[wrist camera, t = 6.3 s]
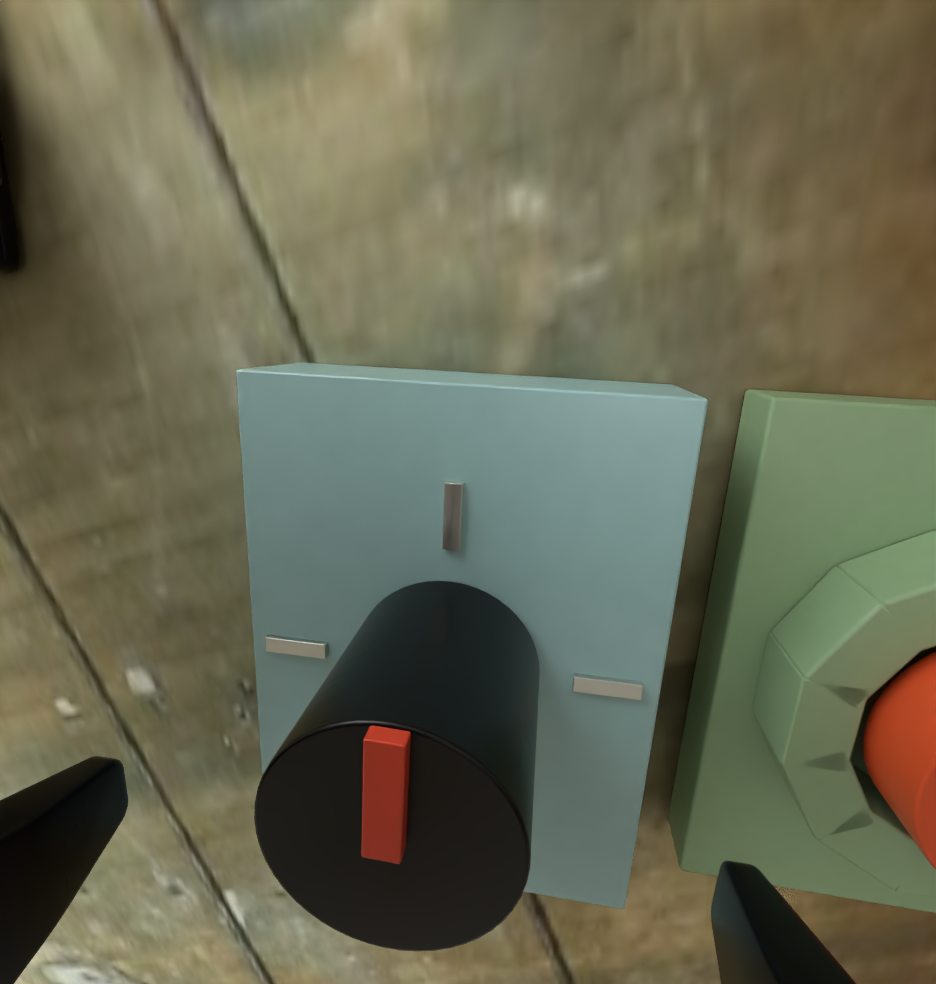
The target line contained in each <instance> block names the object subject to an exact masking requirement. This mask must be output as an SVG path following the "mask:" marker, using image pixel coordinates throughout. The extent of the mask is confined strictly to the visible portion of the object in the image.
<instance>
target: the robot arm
mask: <svg viewBox="0 0 936 984" xmlns="http://www.w3.org/2000/svg"><path fill="white" fill-rule="evenodd" d="M19 263H20V254H19V247H18V241H17V235H16V229H15V222H14V216H13V210H12V203H11V197H10V191H9V185H8V178H7V172H6V166H5V160H4V153H3V147H2V141H1V135H0V275H9V274H12V273H14V272H15V271H16V270H17V268H18V266H19ZM127 807H128V795H127V788H126V781H125V774H124V767H123V764H122V763H121V762H120V760H117V759H113V758H107V757H101V756H95V757H91V758H89V759H86V760H84V761H82V762H80V763H78V764H76V765H74V766H72V767H70V768H67V769H65V770H63V771H61V772H59V773H57V774H55V775H53V776H51V777H49V778H46V779H44V780H42V781H40V782H38V783H36V784H34V785H32V786H30V787H28V788H25V789H23V790H21V791H19V792H17V793H15V794H13V795H11V796H9V797H7V798H4V799H2V800H0V984H14V983H15V981H16V980H17V979H18V977H19V976H20V974H21V973H22V972H23V970H24V969H25V968H26V966H27V965H28V964H29V962H30V961H31V959H32V958H33V957H34V955H35V954H36V953H37V951H38V950H39V949H40V947H41V946H42V944H43V943H44V942H45V940H46V939H47V937H48V936H49V935H50V933H51V932H52V930H53V929H54V928H55V926H56V925H57V923H58V922H59V920H60V919H61V917H62V916H63V914H64V913H65V911H66V909H67V908H68V906H69V905H70V903H71V902H72V900H73V898H74V897H75V895H76V894H77V892H78V890H79V889H80V887H81V886H82V884H83V882H84V881H85V879H86V878H87V876H88V874H89V873H90V871H91V870H92V868H93V866H94V865H95V863H96V862H97V860H98V858H99V857H100V855H101V854H102V852H103V850H104V849H105V847H106V846H107V844H108V842H109V841H110V839H111V838H112V836H113V834H114V833H115V831H116V829H117V828H118V826H119V825H120V823H121V821H122V820H123V818H124V816H125V813H126V810H127ZM711 920H712V929H713V935H714V941H715V947H716V954H717V960H718V966H719V972H720V978H721V984H856V983H855V981H854V980H853V979H852V978H851V977H850V976H849V974H848V973H847V972H846V971H845V970H844V968H843V967H842V966H841V965H840V964H839V963H838V961H837V960H836V959H835V958H834V957H833V956H832V954H831V953H830V952H829V951H828V950H827V949H826V947H825V946H824V945H823V944H822V943H821V941H820V940H819V939H818V938H817V937H816V936H815V934H814V933H813V932H812V931H811V930H810V929H809V927H808V926H807V925H806V924H805V923H804V922H803V920H802V919H801V918H800V917H799V916H798V914H797V913H796V912H795V911H794V910H793V909H792V907H791V906H790V905H789V904H788V903H787V902H786V900H785V899H784V898H783V897H782V896H781V895H780V893H779V892H778V891H777V890H776V889H775V887H774V886H773V885H772V884H771V883H770V882H769V880H768V879H767V878H766V877H765V876H764V875H763V873H762V872H761V871H760V870H759V869H758V868H756V867H755V866H754V865H751V864H746V863H740V862H734V861H724V862H723V863H722V864H721V866H720V869H719V874H718V878H717V883H716V887H715V892H714V896H713V901H712V906H711Z"/></svg>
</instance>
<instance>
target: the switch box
mask: <svg viewBox="0 0 936 984" xmlns="http://www.w3.org/2000/svg"><path fill="white" fill-rule="evenodd" d="M935 651H936V400H921V399H904V398H887V397H871V396H854V395H837V394H820V393H803V392H787V391H770V390H753V389H750V390H747V391H746V392H745V396H744V402H743V407H742V413H741V418H740V424H739V429H738V435H737V440H736V446H735V451H734V457H733V462H732V468H731V473H730V479H729V484H728V490H727V495H726V501H725V506H724V512H723V517H722V523H721V528H720V534H719V539H718V545H717V550H716V556H715V561H714V567H713V572H712V578H711V583H710V589H709V594H708V600H707V605H706V611H705V616H704V622H703V627H702V633H701V638H700V644H699V649H698V655H697V660H696V666H695V671H694V677H693V682H692V688H691V693H690V699H689V704H688V710H687V715H686V721H685V726H684V732H683V737H682V743H681V748H680V754H679V759H678V765H677V770H676V776H675V781H674V787H673V792H672V798H671V803H670V809H669V814H668V820H669V824H670V828H671V833H672V837H673V841H674V845H675V850H676V854H677V858H678V863H679V867H680V869H681V870H683V871H688V872H694V873H700V874H706V875H712V876H718V874H719V869H720V866H721V864H722V863H723V862H724V861H734V862H740V863H746V864H751V865H754V866H755V867H756V868H758V869H759V870H760V871H761V872H762V873H763V875H764V876H765V877H766V878H767V879H768V880H769V882H770V883H771V884H772V885H773V886H778V887H784V888H790V889H796V890H802V891H808V892H813V893H819V894H825V895H831V896H837V897H843V898H849V899H855V900H861V901H867V902H873V903H879V904H885V905H891V906H897V907H903V908H909V909H915V910H921V911H927V912H933V913H936V869H935V868H934V867H933V866H932V865H931V864H930V862H929V861H928V859H927V858H926V857H925V855H924V854H923V853H922V851H921V850H920V848H919V847H918V846H917V844H916V843H915V841H914V840H913V838H912V837H911V836H910V834H909V833H908V831H907V830H906V829H905V827H904V826H903V824H902V823H901V822H900V820H899V819H898V817H897V816H896V814H895V813H894V812H893V810H892V809H891V807H890V806H889V805H888V803H887V802H886V800H885V799H884V798H883V796H882V795H881V793H880V792H879V790H878V789H877V788H876V786H875V785H874V783H873V781H872V779H871V777H870V775H869V773H868V770H867V767H866V764H865V759H864V752H863V735H864V730H865V725H866V721H867V719H868V716H869V713H870V711H871V709H872V707H873V705H874V704H875V702H876V700H877V698H878V697H879V696H880V694H881V693H882V692H883V690H884V689H885V688H886V687H887V686H888V684H889V683H890V682H891V681H892V680H893V679H894V678H895V677H896V676H898V675H899V674H900V673H901V672H903V671H904V670H905V669H906V668H908V667H909V666H910V665H912V664H914V663H915V662H917V661H918V660H920V659H922V658H923V657H925V656H927V655H929V654H931V653H933V652H935Z"/></svg>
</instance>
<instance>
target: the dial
mask: <svg viewBox="0 0 936 984" xmlns="http://www.w3.org/2000/svg"><path fill="white" fill-rule="evenodd" d="M539 674H540V668H539V659H538V655H537V651H536V647H535V645H534V642H533V640H532V637H531V635H530V634H529V632H528V630H527V629H526V627H525V625H524V624H523V623H522V622H521V620H520V619H519V618H518V616H517V615H516V614H515V613H514V612H513V611H512V610H511V609H510V608H509V607H507V606H506V605H505V604H504V603H502V602H501V601H500V600H498V599H497V598H495V597H493V596H492V595H490V594H489V593H487V592H484V591H482V590H480V589H478V588H475V587H472V586H469V585H466V584H462V583H456V582H450V581H427V582H422V583H416V584H412V585H409V586H406V587H403V588H401V589H399V590H397V591H395V592H393V593H392V594H390V595H389V596H387V597H386V598H384V599H383V600H382V601H381V602H380V603H379V604H377V605H376V606H375V608H374V609H373V610H372V611H371V612H370V614H369V615H368V616H367V618H366V619H365V621H364V622H363V624H362V625H361V627H360V628H359V630H358V631H357V633H356V634H355V636H354V637H353V639H352V640H351V642H350V643H349V645H348V646H347V648H346V649H345V651H344V652H343V654H342V655H341V657H340V658H339V660H338V661H337V663H336V664H335V666H334V667H333V669H332V670H331V672H330V673H329V675H328V676H327V678H326V679H325V681H324V682H323V684H322V685H321V687H320V688H319V690H318V691H317V693H316V694H315V696H314V697H313V699H312V700H311V702H310V703H309V705H308V706H307V708H306V709H305V711H304V712H303V714H302V715H301V717H300V718H299V720H298V721H297V723H296V724H295V726H294V727H293V729H292V730H291V732H290V733H289V735H288V736H287V738H286V739H285V741H284V742H283V743H282V745H281V746H280V748H279V749H278V751H277V752H276V754H275V755H274V757H273V758H272V760H271V761H270V763H269V765H268V766H267V768H266V770H265V772H264V773H263V775H262V778H261V781H260V783H259V786H258V790H257V795H256V800H255V816H254V819H255V827H256V834H257V838H258V842H259V845H260V848H261V851H262V853H263V856H264V858H265V860H266V862H267V864H268V866H269V868H270V869H271V871H272V873H273V875H274V876H275V877H276V879H277V880H278V881H279V883H280V884H281V885H282V887H283V888H284V889H285V890H286V891H287V893H288V894H289V895H290V896H291V897H292V898H293V899H294V900H295V901H296V902H297V903H298V904H299V905H301V906H302V907H303V908H304V909H305V910H306V911H307V912H309V913H310V914H312V915H313V916H314V917H316V918H317V919H318V920H320V921H321V922H323V923H325V924H326V925H328V926H330V927H331V928H333V929H335V930H337V931H339V932H341V933H343V934H345V935H347V936H349V937H352V938H354V939H357V940H360V941H363V942H365V943H368V944H372V945H376V946H380V947H384V948H390V949H396V950H404V951H434V950H441V949H447V948H452V947H456V946H459V945H463V944H466V943H468V942H471V941H473V940H475V939H478V938H480V937H481V936H483V935H485V934H486V933H488V932H490V931H492V930H493V929H494V928H495V927H496V926H498V925H499V924H500V923H501V922H503V921H504V919H505V918H506V917H507V916H508V915H509V914H510V913H511V912H512V910H513V909H514V907H515V906H516V904H517V902H518V901H519V899H520V898H521V896H522V894H523V891H524V889H525V886H526V884H527V880H528V876H529V871H530V862H531V841H532V821H533V800H534V779H535V758H536V737H537V717H538V696H539Z"/></svg>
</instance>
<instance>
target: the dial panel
mask: <svg viewBox="0 0 936 984" xmlns="http://www.w3.org/2000/svg"><path fill="white" fill-rule="evenodd" d="M236 378H237V394H238V409H239V425H240V440H241V456H242V471H243V487H244V502H245V517H246V533H247V548H248V564H249V579H250V595H251V610H252V626H253V641H254V657H255V672H256V687H257V703H258V718H259V734H260V749H261V765H262V775H263V773H264V772H265V770H266V768H267V766H268V765H269V763H270V761H271V760H272V758H273V757H274V755H275V754H276V752H277V751H278V749H279V748H280V746H281V745H282V743H283V742H284V741H285V739H286V738H287V736H288V735H289V733H290V732H291V730H292V729H293V727H294V726H295V724H296V723H297V721H298V720H299V718H300V717H301V715H302V714H303V712H304V711H305V709H306V708H307V706H308V705H309V703H310V702H311V700H312V699H313V697H314V696H315V694H316V693H317V691H318V690H319V688H320V687H321V685H322V684H323V682H324V681H325V679H326V678H327V676H328V675H329V673H330V672H331V670H332V669H333V667H334V666H335V664H336V663H337V661H338V660H339V658H340V657H341V655H342V654H343V652H344V651H345V649H346V648H347V646H348V645H349V643H350V642H351V640H352V639H353V637H354V636H355V634H356V633H357V631H358V630H359V628H360V627H361V625H362V624H363V622H364V621H365V619H366V618H367V616H368V615H369V614H370V612H371V611H372V610H373V609H374V608H375V606H376V605H377V604H379V603H380V602H381V601H382V600H383V599H384V598H386V597H387V596H389V595H390V594H392V593H393V592H395V591H397V590H399V589H401V588H403V587H406V586H409V585H412V584H416V583H422V582H427V581H450V582H456V583H462V584H466V585H469V586H472V587H475V588H478V589H480V590H482V591H484V592H487V593H489V594H490V595H492V596H493V597H495V598H497V599H498V600H500V601H501V602H502V603H504V604H505V605H506V606H507V607H509V608H510V609H511V610H512V611H513V612H514V613H515V614H516V615H517V616H518V618H519V619H520V620H521V622H522V623H523V624H524V625H525V627H526V629H527V630H528V632H529V634H530V635H531V637H532V640H533V642H534V645H535V647H536V651H537V655H538V659H539V668H540V674H539V696H538V717H537V737H536V758H535V779H534V800H533V821H532V841H531V862H530V871H529V876H528V880H527V884H526V886H525V889H524V892H530V893H535V894H541V895H546V896H552V897H558V898H563V899H569V900H574V901H580V902H586V903H591V904H597V905H602V906H608V907H614V908H619V909H624V908H625V904H626V898H627V892H628V885H629V879H630V873H631V867H632V861H633V855H634V849H635V843H636V837H637V831H638V825H639V819H640V813H641V806H642V800H643V794H644V788H645V782H646V776H647V770H648V764H649V758H650V752H651V746H652V740H653V734H654V727H655V721H656V715H657V709H658V703H659V697H660V691H661V685H662V679H663V673H664V667H665V661H666V655H667V648H668V642H669V636H670V630H671V624H672V618H673V612H674V606H675V600H676V594H677V588H678V582H679V576H680V570H681V563H682V557H683V551H684V545H685V539H686V533H687V527H688V521H689V515H690V509H691V503H692V497H693V491H694V484H695V478H696V472H697V466H698V460H699V454H700V448H701V442H702V436H703V430H704V424H705V418H706V412H707V405H708V399H706V398H703V397H701V396H699V395H696V394H694V393H692V392H689V391H687V390H685V389H682V388H680V387H677V386H675V385H671V384H654V383H637V382H620V381H603V380H587V379H570V378H553V377H536V376H519V375H502V374H486V373H469V372H452V371H435V370H418V369H401V368H385V367H368V366H351V365H334V364H317V363H293V364H284V365H274V366H265V367H256V368H247V369H239V370H237V371H236Z"/></svg>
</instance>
